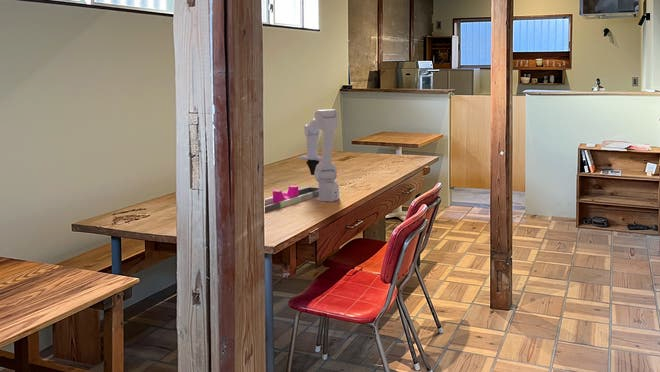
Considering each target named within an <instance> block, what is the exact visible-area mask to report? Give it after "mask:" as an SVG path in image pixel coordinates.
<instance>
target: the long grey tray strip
mask: <svg viewBox="0 0 660 372" xmlns="http://www.w3.org/2000/svg"><path fill="white" fill-rule="evenodd" d="M298 192H299V196H297V197H293V198H290V199H287V200H283V201H280V202H277V203H273V196H271V197H267V198H264V199H265V204H266V205H264V206H265V212H264V213H268V212H271V211H274V210H277V209H281V208H284V207H288V206H291V205H293V204H296V203H300V202H303V201H306V200H310V199H313V198H317V197H319V186H317V187H316V186H305V187H302V188H298Z"/></svg>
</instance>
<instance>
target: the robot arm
mask: <svg viewBox="0 0 660 372" xmlns="http://www.w3.org/2000/svg"><path fill="white" fill-rule="evenodd" d="M338 121H339V115H338V111H337V109H335V108H333V109H331V108H330V109H316V110H315V112H314V118H313V119H311V121H310V122H309V124H305V125H304V135H305V137H306V139H305V140H306V155H300V157H299V159H300V161H306V162H305V164H306V165H307V167H308V170H309V172H310V175H311V176H314V179H315V181H316V182H317V183H318V187H319V196H318V198H315V199H314V200H315V201H319V202H329V203H330V202H331V203H333V202H335V201H339V200H340V199H341V197H340V186H339V183H338V182H335V181H336V179H337V178H338V177H337V176H338V171H337V169H338V168H337V166H336V164H335V163H334V162H332V158H333V147H334V146H333V145H334V136H335V135H334V134H335V130H337V128H338V123H339V122H338ZM320 130H321V131H322V132H323V133H322V144H321V145H322V146H321V156H320V155H319V141H318V140H319V139H320V138H319V137H320V136H319V135H320Z"/></svg>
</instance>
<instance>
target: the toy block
mask: <svg viewBox="0 0 660 372" xmlns="http://www.w3.org/2000/svg"><path fill="white" fill-rule="evenodd" d="M298 189H299V186H298V185H290V186H288V190H287V191H284V192H283V191H282V190H277V189H274V190H272V197H273V203H277V202H280V201H283V200H287V199H290V198H293V197H297V196H299V192H298ZM273 203H272V204H273Z"/></svg>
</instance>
